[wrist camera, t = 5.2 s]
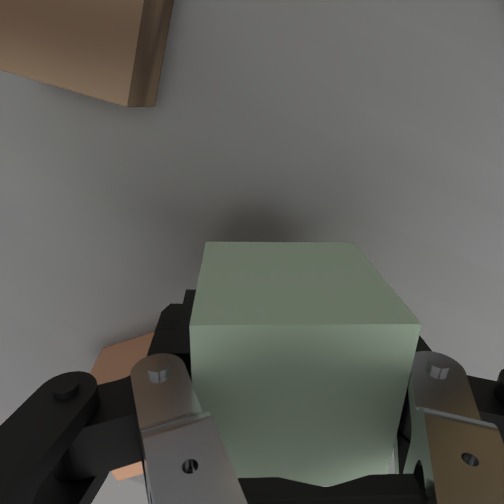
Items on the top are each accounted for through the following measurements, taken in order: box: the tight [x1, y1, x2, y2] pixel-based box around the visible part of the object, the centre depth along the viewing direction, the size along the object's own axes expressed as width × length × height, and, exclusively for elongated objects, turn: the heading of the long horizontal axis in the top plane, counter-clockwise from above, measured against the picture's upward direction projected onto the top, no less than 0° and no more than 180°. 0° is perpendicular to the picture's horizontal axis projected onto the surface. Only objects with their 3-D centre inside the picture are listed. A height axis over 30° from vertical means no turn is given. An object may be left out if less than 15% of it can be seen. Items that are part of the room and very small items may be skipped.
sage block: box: [189, 242, 422, 486], centre depth 11 cm, size 5×5×5 cm
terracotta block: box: [90, 332, 155, 481], centre depth 21 cm, size 5×5×5 cm
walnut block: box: [0, 0, 174, 107], centre depth 14 cm, size 5×5×5 cm
